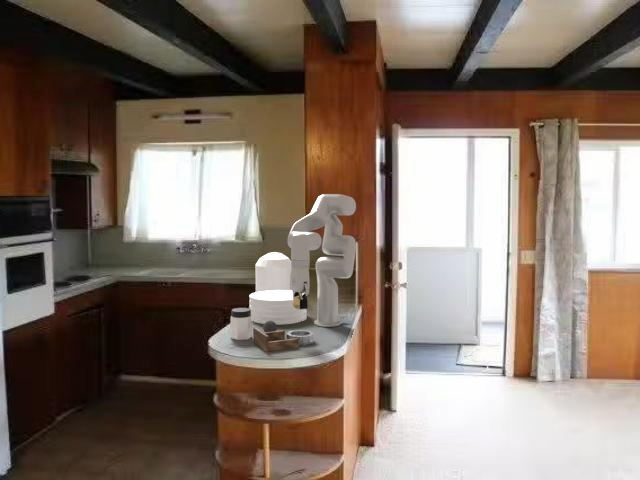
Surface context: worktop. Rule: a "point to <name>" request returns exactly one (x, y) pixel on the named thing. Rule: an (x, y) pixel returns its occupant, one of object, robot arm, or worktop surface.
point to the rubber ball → (269, 326)
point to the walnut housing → (264, 339)
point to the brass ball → (297, 302)
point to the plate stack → (275, 307)
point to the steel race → (301, 336)
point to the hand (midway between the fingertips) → (300, 306)
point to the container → (273, 272)
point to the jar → (241, 324)
